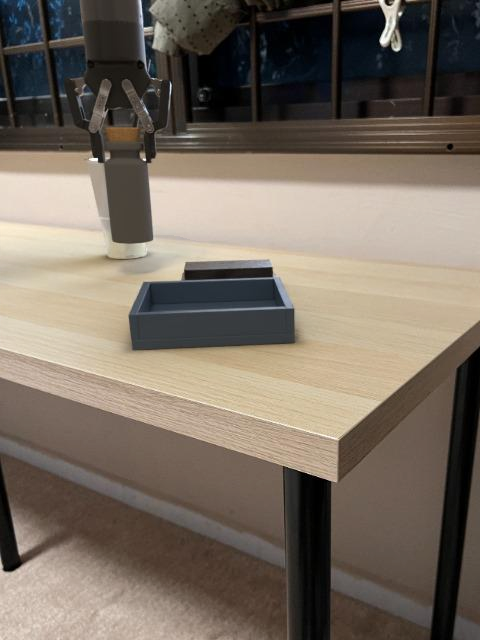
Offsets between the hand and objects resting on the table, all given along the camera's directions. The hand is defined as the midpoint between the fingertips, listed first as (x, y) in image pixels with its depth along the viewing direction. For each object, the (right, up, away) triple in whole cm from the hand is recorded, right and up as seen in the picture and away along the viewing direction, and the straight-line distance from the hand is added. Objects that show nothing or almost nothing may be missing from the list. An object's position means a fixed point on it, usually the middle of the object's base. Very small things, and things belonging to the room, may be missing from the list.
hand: (125, 162), depth 84 cm
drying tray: (+14, -24, -19) cm, 34 cm away
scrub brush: (+15, -18, -5) cm, 24 cm away
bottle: (0, -10, +4) cm, 11 cm away
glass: (-4, -9, +19) cm, 22 cm away
